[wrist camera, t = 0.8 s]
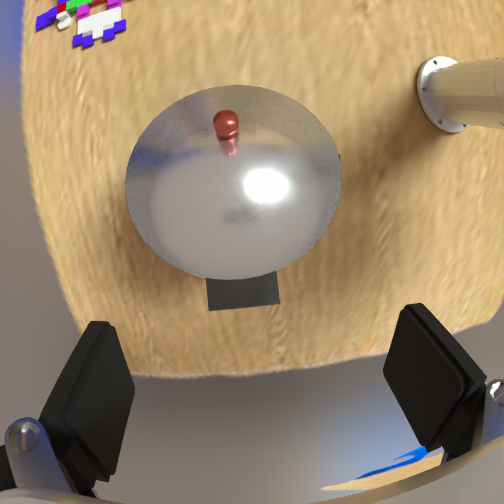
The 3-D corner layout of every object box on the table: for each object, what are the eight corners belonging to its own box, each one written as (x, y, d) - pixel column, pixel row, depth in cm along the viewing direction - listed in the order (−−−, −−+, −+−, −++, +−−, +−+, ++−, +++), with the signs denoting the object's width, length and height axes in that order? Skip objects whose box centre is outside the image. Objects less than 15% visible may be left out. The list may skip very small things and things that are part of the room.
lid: (315, 88, 26) (319, 69, 24) (359, 293, 22) (372, 290, 20) (136, 108, 26) (127, 91, 23) (132, 316, 22) (117, 316, 19)
